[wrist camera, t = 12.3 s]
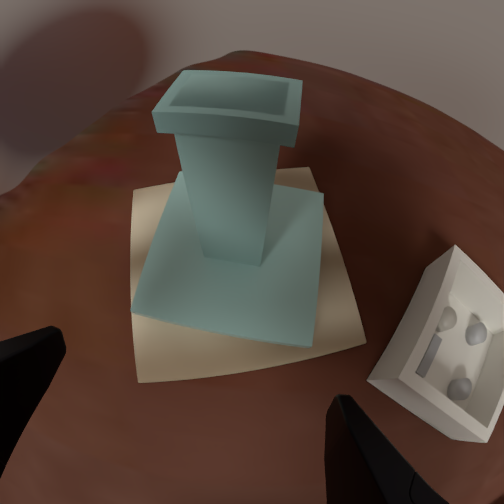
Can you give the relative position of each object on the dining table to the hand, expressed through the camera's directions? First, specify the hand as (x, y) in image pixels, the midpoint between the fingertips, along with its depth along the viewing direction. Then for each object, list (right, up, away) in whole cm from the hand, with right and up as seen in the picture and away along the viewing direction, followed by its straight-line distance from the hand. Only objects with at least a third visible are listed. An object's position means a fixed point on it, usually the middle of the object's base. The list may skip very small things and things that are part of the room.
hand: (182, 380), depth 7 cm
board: (+1, +3, +11) cm, 11 cm away
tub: (+16, -4, +8) cm, 19 cm away
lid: (+1, +3, +10) cm, 11 cm away
